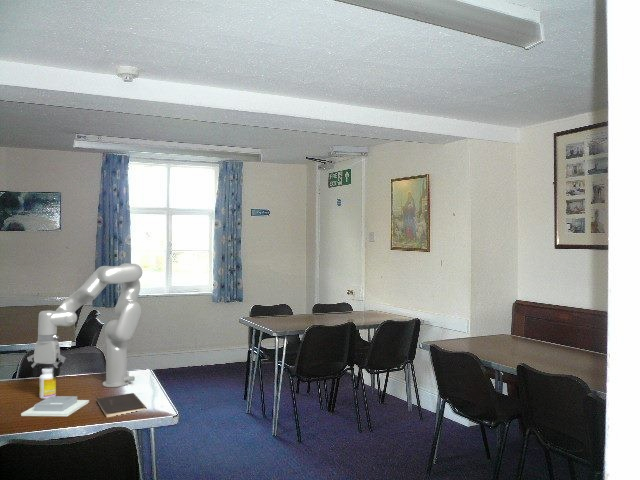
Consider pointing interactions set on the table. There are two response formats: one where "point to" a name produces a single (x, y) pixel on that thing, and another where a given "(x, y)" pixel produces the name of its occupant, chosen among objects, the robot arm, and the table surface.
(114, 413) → the hardcover book
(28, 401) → the table surface
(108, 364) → the robot arm
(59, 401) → the holder board
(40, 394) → the supplement bottle
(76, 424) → the table surface
